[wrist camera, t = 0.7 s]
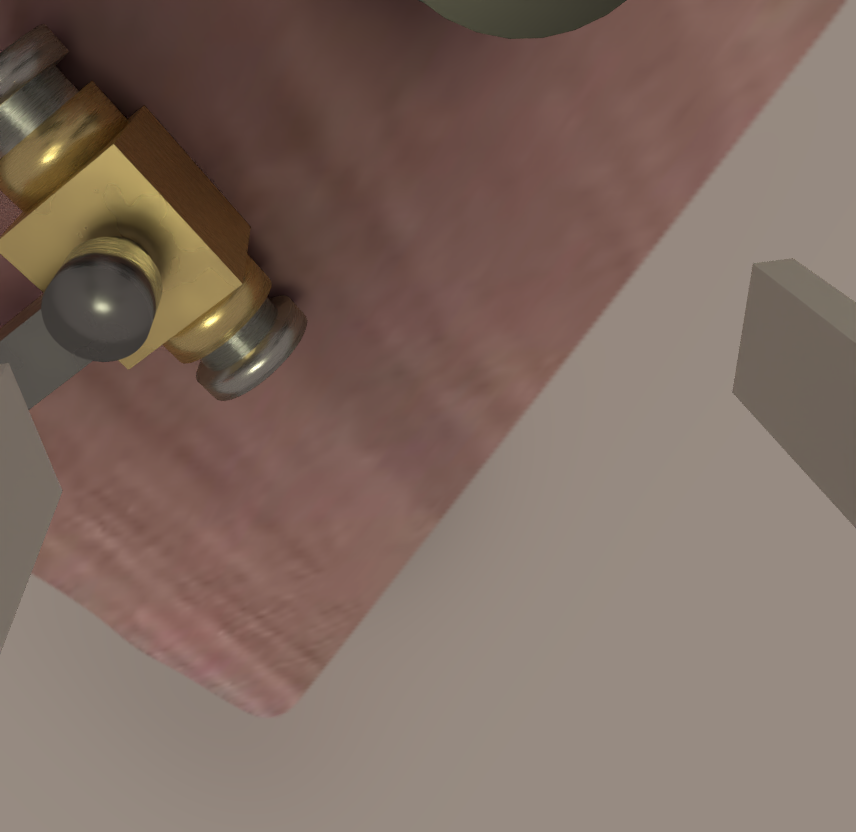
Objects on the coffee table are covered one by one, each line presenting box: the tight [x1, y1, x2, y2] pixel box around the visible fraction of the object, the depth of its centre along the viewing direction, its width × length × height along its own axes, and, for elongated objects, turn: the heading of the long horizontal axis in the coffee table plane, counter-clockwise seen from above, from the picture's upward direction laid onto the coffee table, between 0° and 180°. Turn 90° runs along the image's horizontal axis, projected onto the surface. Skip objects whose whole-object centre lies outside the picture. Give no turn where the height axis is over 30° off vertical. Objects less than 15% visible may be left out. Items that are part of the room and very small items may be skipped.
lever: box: [0, 237, 163, 410], centre depth 30 cm, size 13×4×3 cm, turn 125°
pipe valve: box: [0, 24, 307, 401], centre depth 34 cm, size 16×6×9 cm, turn 35°
